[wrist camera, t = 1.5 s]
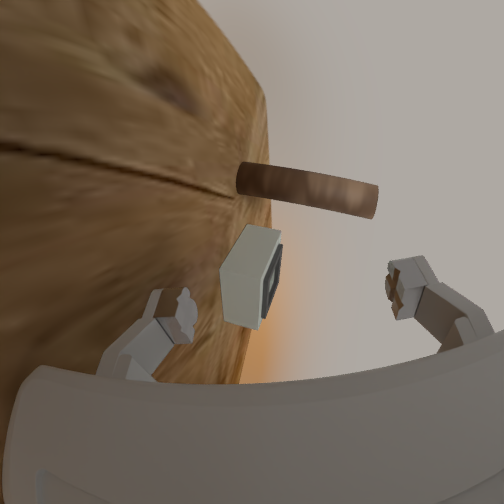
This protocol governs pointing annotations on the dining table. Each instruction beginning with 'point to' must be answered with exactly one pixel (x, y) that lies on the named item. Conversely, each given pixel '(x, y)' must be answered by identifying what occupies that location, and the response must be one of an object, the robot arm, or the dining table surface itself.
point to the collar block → (251, 276)
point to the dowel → (307, 189)
